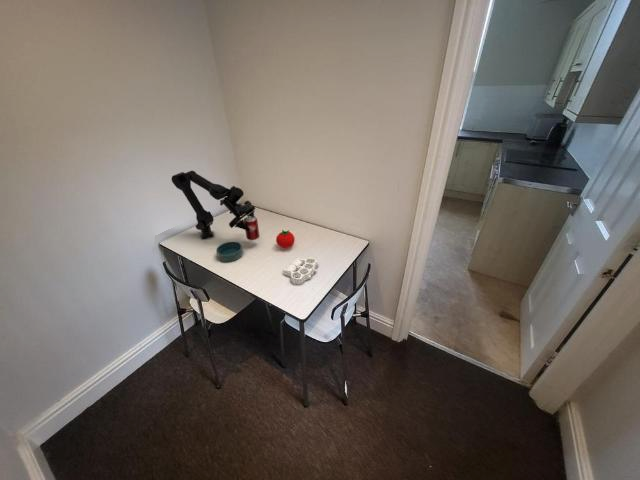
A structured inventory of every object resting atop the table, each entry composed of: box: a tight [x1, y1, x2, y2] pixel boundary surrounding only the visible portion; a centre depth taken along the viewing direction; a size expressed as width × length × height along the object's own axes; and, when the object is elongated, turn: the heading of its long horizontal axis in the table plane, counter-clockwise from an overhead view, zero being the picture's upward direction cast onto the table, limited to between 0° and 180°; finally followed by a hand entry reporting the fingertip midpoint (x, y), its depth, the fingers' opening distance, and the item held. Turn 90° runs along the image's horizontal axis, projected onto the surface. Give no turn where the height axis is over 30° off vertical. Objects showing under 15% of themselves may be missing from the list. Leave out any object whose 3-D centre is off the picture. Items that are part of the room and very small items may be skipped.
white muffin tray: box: [282, 257, 318, 285], centre depth 126 cm, size 3×18×15 cm
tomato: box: [275, 229, 296, 249], centre depth 143 cm, size 10×10×10 cm
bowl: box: [215, 241, 244, 263], centre depth 138 cm, size 13×13×4 cm
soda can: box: [243, 215, 261, 241], centre depth 141 cm, size 7×7×12 cm
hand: (253, 227), depth 141 cm, fingers closed on soda can, 7 cm apart
